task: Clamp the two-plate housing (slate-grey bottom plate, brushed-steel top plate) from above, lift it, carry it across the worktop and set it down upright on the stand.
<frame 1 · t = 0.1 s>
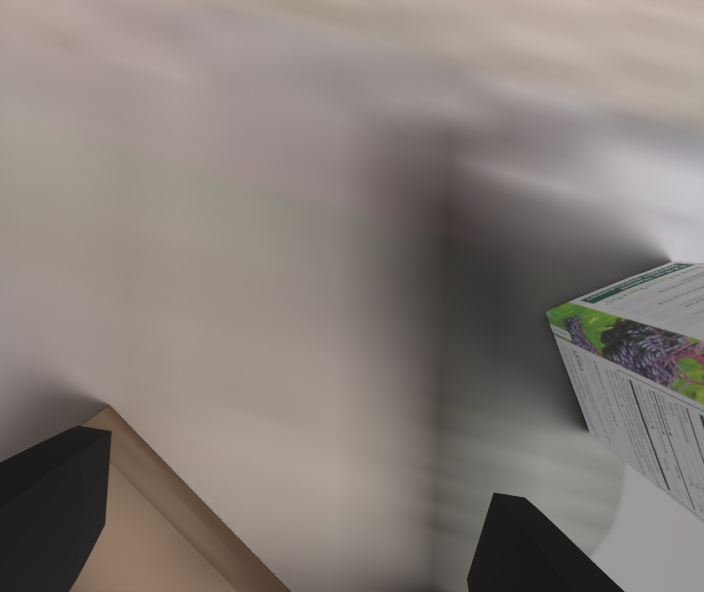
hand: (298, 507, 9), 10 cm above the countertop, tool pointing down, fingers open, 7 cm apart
syrup box: (628, 349, 20), on the countertop
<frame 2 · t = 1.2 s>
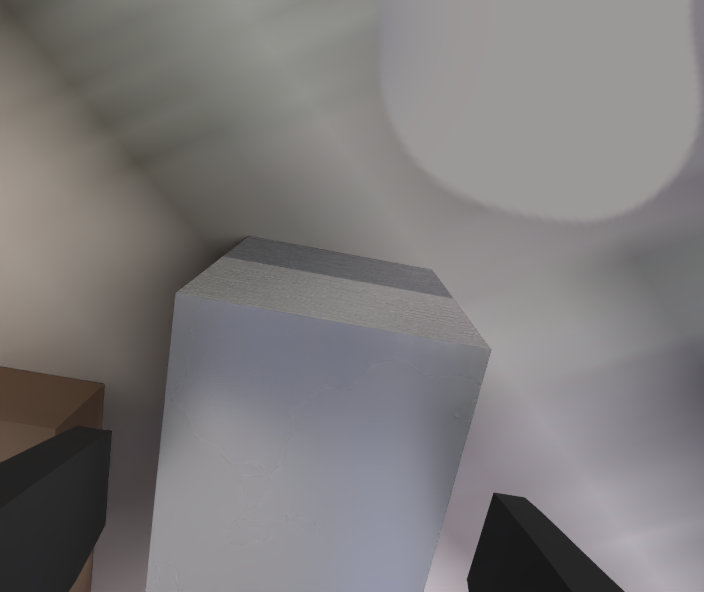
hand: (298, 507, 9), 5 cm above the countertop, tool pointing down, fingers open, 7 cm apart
housing: (316, 385, 15), on the countertop
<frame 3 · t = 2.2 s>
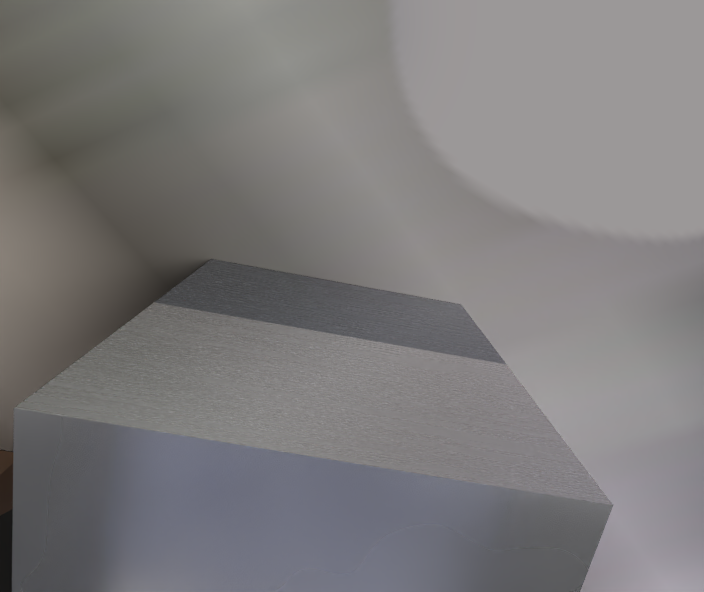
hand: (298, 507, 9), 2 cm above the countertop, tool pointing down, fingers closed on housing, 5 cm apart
housing: (305, 457, 11), on the countertop, touching gripper
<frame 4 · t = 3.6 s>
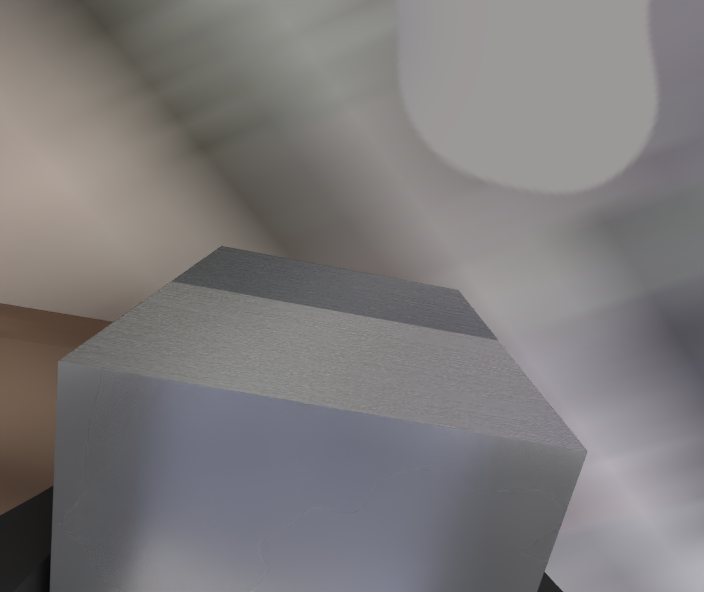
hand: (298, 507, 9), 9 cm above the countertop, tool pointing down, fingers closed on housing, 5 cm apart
housing: (309, 436, 12), point 6 cm above the countertop, touching gripper
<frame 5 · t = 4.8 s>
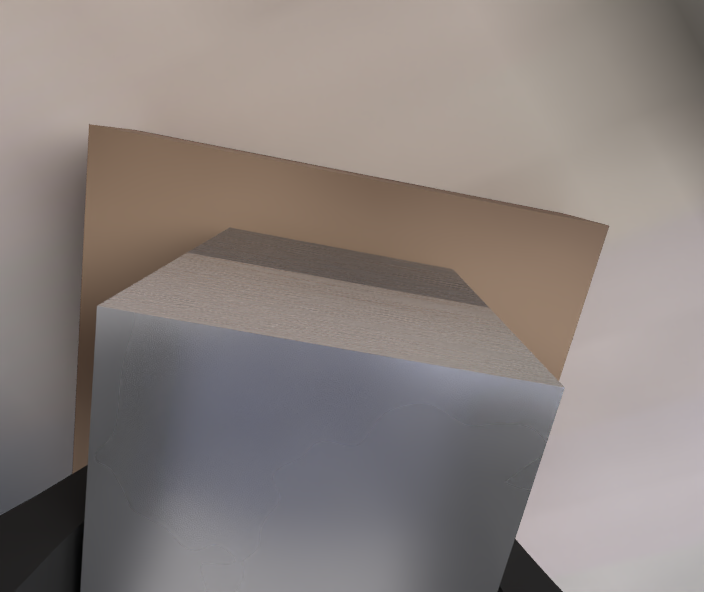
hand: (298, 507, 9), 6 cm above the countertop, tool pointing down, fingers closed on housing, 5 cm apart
housing: (312, 409, 12), point 3 cm above the countertop, touching gripper
stand: (318, 371, 15), on the countertop
when the fingers open (6 cm above the countertop, at t = 5.4 s): housing stays where it is, resting on stand.
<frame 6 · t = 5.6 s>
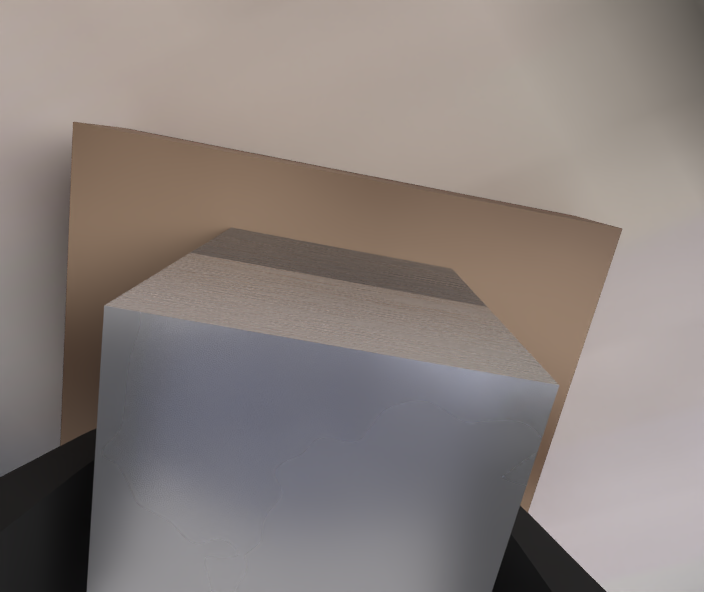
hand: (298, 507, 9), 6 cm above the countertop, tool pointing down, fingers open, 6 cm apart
housing: (313, 407, 12), point 2 cm above the countertop, touching stand
stand: (316, 379, 15), on the countertop
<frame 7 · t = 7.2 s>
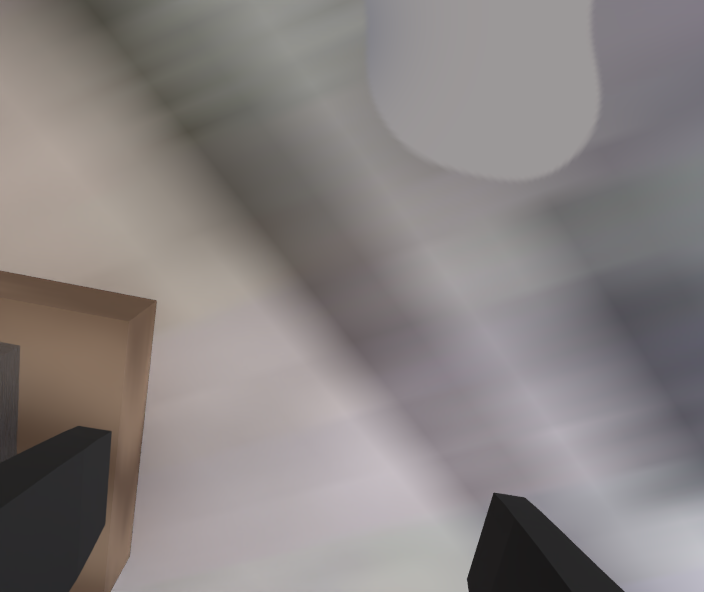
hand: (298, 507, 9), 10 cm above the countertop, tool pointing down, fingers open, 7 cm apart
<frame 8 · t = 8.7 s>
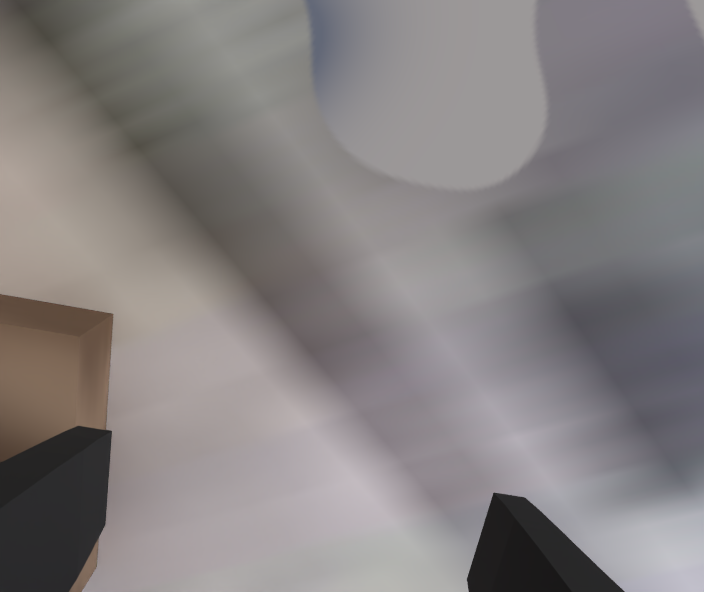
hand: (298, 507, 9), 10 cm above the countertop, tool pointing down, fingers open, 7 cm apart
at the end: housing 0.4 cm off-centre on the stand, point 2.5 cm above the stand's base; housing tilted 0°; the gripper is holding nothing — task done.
